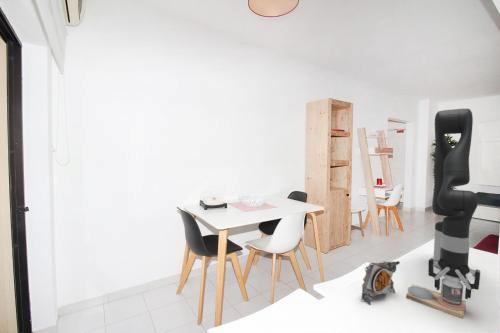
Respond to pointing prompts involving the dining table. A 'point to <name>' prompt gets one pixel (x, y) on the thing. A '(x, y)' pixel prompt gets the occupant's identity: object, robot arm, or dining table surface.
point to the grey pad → (420, 292)
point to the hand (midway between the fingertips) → (451, 293)
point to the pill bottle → (452, 291)
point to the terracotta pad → (451, 306)
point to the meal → (378, 279)
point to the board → (435, 303)
